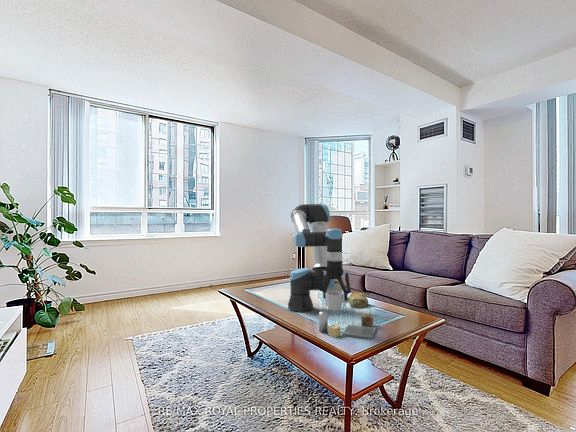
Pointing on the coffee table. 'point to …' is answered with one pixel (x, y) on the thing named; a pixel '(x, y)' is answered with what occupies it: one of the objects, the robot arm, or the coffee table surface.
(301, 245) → the robot arm
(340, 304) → the cup
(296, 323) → the coffee table surface
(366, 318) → the walnut block
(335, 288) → the planter
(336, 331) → the ochre block
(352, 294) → the pastry
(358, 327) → the coaster
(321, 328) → the grey peg
